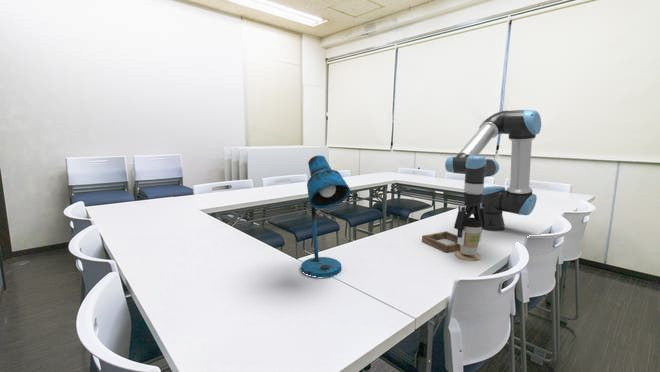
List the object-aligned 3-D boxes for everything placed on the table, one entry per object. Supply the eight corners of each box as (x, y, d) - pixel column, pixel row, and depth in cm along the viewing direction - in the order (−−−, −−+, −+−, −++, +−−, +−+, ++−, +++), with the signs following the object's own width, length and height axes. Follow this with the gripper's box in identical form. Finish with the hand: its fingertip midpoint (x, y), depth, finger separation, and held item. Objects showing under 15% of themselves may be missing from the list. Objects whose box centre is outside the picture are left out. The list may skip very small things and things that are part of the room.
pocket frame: (445, 236, 166) (446, 231, 165) (471, 247, 152) (471, 241, 151) (421, 241, 159) (422, 235, 158) (446, 252, 145) (446, 246, 144)
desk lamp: (315, 287, 113) (315, 159, 105) (294, 264, 132) (292, 154, 124) (355, 278, 119) (357, 158, 111) (329, 257, 139) (330, 153, 131)
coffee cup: (482, 257, 136) (486, 223, 133) (458, 256, 138) (461, 222, 135) (477, 249, 145) (480, 217, 142) (454, 247, 147) (456, 216, 144)
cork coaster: (466, 249, 149) (466, 248, 149) (487, 257, 139) (487, 257, 139) (449, 253, 144) (449, 252, 144) (469, 262, 134) (469, 261, 134)
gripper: (483, 188, 145) (479, 236, 149) (447, 193, 135) (443, 243, 139) (498, 191, 138) (493, 241, 142) (461, 196, 128) (457, 249, 132)
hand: (468, 242), depth 141 cm, fingers closed on coffee cup, 10 cm apart
